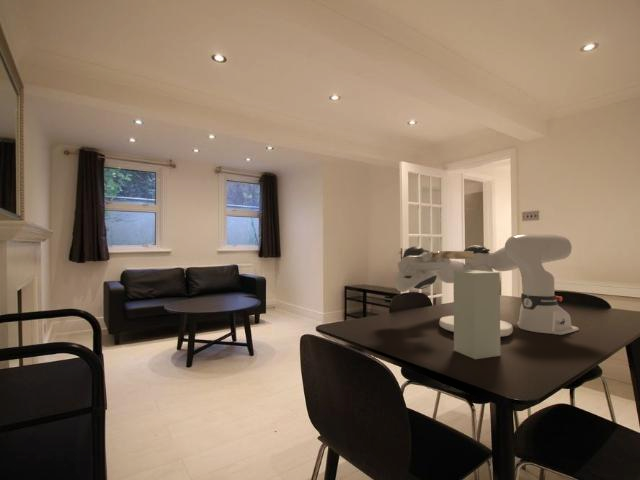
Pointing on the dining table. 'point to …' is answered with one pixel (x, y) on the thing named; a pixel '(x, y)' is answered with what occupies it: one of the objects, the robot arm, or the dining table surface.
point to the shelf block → (477, 313)
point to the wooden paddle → (454, 254)
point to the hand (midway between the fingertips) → (436, 253)
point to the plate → (448, 324)
